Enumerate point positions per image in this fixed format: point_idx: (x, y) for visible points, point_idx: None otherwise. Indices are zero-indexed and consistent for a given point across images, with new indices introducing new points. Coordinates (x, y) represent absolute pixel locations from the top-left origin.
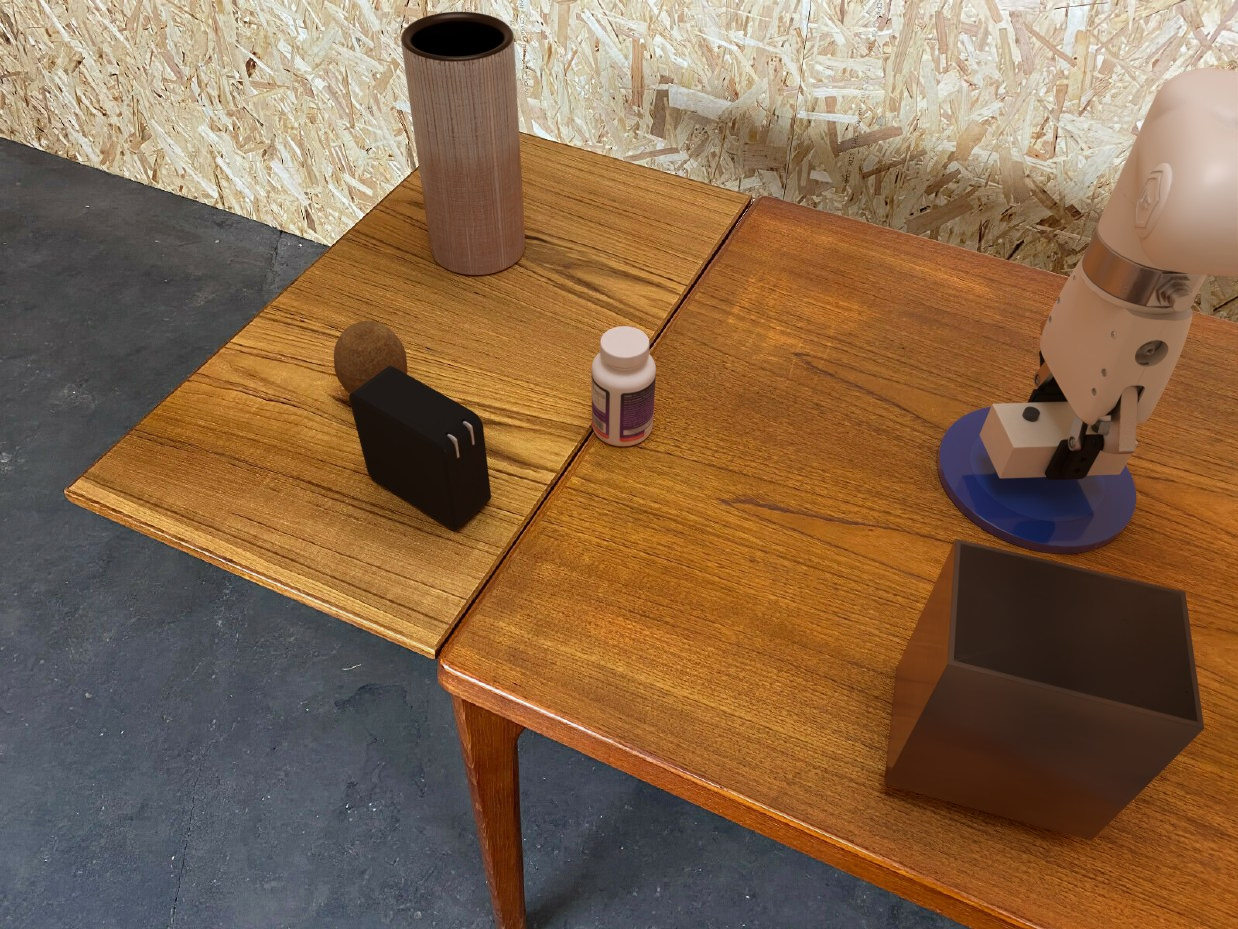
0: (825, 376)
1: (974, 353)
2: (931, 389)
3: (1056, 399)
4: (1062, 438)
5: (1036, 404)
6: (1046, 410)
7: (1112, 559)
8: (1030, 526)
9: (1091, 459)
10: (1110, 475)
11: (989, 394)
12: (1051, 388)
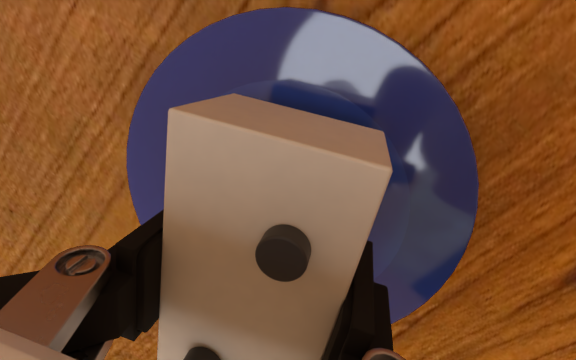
0: None
1: (6, 111)
2: (89, 223)
3: (154, 279)
4: (294, 353)
5: (166, 319)
6: (189, 315)
7: (505, 184)
8: (390, 291)
9: (389, 335)
10: (332, 70)
11: (97, 146)
12: (121, 326)
